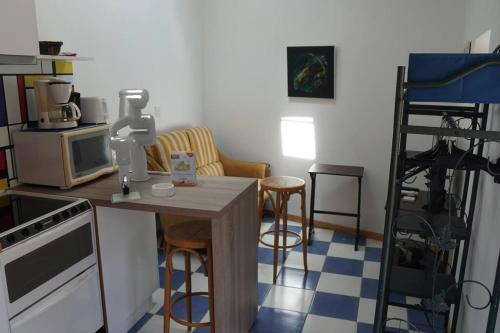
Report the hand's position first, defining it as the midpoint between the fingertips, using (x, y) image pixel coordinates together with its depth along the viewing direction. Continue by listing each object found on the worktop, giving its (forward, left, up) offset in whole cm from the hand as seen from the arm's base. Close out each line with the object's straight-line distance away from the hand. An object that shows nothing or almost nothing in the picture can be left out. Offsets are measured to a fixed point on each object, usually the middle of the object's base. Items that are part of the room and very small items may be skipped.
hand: (125, 192), depth 226 cm
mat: (0, 0, -4) cm, 4 cm away
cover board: (0, 0, -3) cm, 3 cm away
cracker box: (-16, +35, -4) cm, 39 cm away
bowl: (0, +20, -4) cm, 20 cm away
